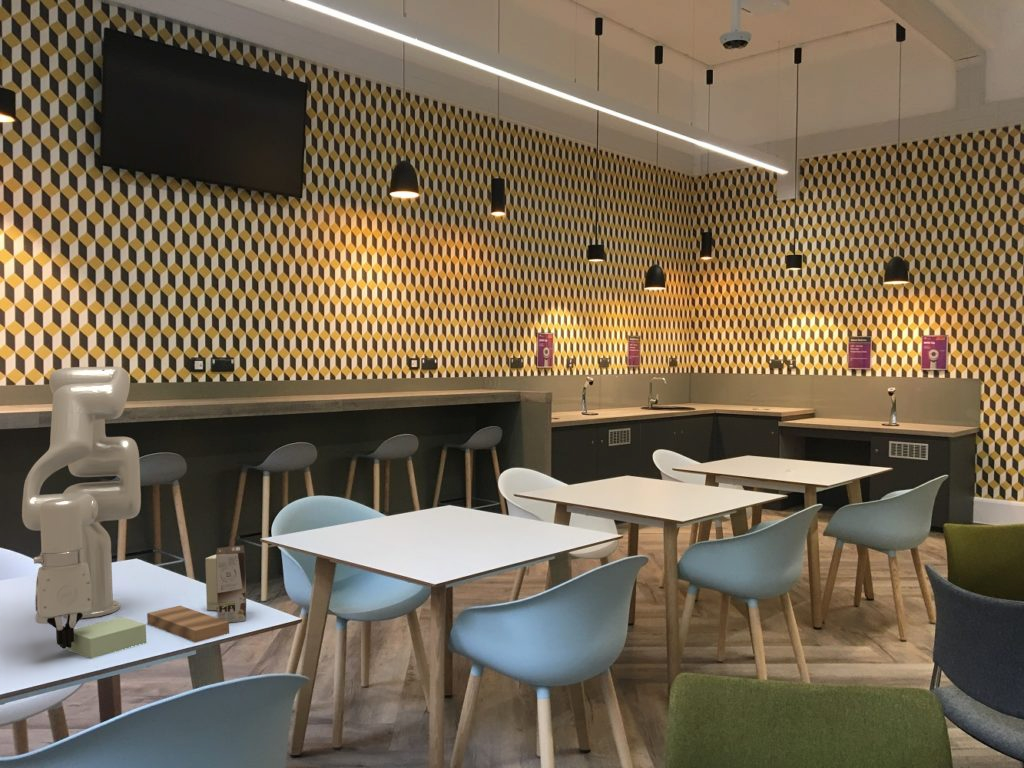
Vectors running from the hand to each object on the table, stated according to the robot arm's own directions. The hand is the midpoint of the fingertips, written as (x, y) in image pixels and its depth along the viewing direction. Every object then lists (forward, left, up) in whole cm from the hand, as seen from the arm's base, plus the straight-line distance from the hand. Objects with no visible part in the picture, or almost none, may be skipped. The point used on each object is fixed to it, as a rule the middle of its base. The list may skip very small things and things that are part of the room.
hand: (65, 646), depth 180 cm
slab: (0, +8, -2) cm, 9 cm away
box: (-11, +37, -2) cm, 39 cm away
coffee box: (-1, +36, -2) cm, 36 cm away
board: (0, +25, -2) cm, 25 cm away
